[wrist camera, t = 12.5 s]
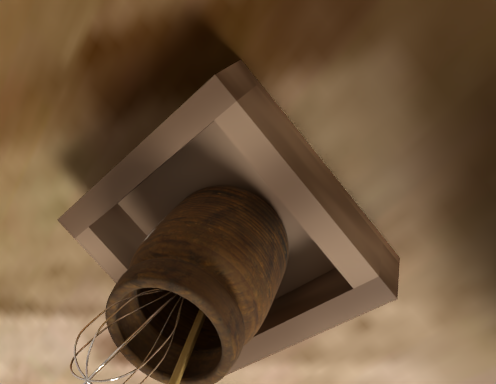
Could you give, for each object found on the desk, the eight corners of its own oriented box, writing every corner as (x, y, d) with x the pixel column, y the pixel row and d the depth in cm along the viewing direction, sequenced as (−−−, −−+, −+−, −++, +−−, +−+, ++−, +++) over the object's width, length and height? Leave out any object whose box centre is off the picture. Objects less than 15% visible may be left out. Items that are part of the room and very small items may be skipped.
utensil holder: (286, 179, 20) (154, 404, 10) (298, 298, 23) (202, 571, 13) (165, 178, 22) (-46, 365, 12) (189, 287, 25) (30, 517, 15)
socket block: (400, 251, 21) (397, 298, 18) (231, 335, 27) (208, 383, 24) (245, 56, 20) (214, 74, 17) (99, 188, 25) (57, 219, 22)
